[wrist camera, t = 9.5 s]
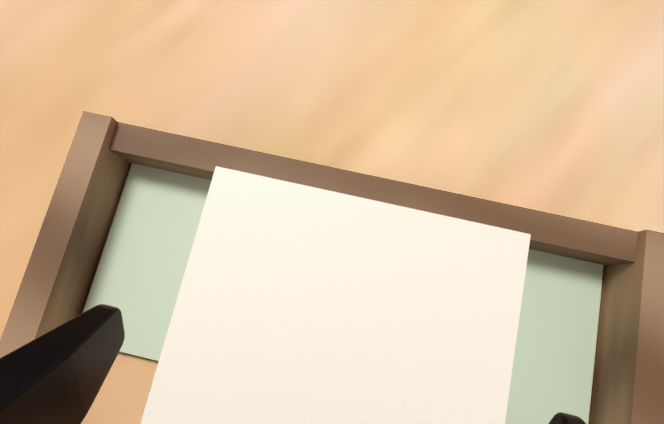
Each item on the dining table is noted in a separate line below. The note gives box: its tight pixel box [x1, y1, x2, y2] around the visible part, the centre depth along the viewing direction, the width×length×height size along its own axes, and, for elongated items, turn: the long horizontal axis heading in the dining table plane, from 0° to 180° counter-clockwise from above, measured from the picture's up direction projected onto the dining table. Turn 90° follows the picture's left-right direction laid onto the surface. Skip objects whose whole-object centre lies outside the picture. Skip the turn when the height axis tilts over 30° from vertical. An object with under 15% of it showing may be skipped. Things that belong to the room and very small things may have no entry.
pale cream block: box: [141, 166, 531, 424], centre depth 12 cm, size 5×5×12 cm
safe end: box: [83, 163, 604, 424], centre depth 18 cm, size 8×21×1 cm, turn 77°
